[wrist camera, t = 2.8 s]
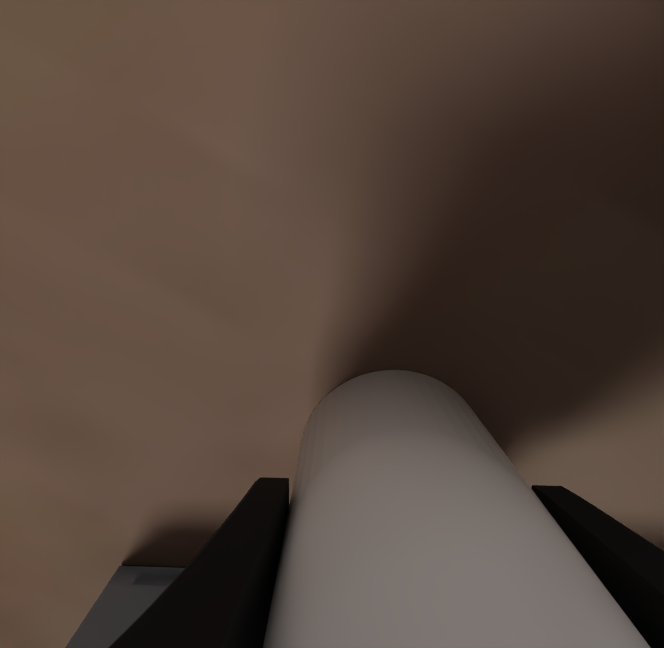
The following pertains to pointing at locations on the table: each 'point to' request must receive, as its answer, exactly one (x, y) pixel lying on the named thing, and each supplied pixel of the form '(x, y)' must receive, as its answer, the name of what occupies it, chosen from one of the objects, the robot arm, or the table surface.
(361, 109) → the table surface
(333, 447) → the cup
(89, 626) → the tray
